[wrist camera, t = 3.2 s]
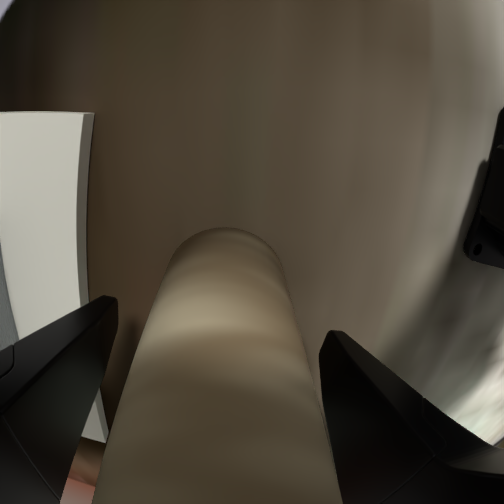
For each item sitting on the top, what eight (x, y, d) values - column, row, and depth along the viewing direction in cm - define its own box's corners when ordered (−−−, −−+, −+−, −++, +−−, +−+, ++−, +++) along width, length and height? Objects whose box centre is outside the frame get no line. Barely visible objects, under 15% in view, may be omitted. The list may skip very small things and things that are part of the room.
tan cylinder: (297, 239, 10) (428, 595, 1) (268, 336, 12) (306, 614, 3) (172, 218, 10) (28, 592, 1) (163, 320, 12) (103, 603, 2)
